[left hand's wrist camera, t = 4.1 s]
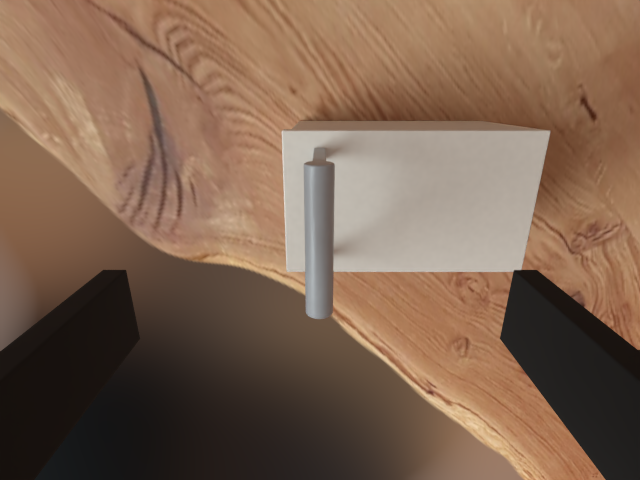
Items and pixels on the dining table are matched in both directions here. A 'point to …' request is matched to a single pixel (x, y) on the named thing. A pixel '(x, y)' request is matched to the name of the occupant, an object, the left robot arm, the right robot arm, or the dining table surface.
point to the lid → (407, 202)
